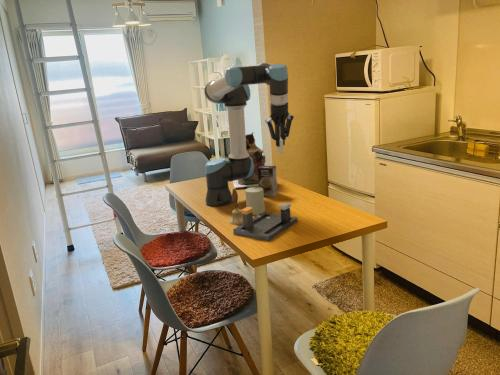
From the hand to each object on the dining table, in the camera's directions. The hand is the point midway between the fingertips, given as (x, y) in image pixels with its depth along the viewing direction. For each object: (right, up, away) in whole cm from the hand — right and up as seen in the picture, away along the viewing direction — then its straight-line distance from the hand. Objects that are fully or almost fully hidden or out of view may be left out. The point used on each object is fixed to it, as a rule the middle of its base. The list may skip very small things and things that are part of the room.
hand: (280, 151), depth 181 cm
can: (-11, -28, +19) cm, 36 cm away
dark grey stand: (-7, -34, -3) cm, 35 cm away
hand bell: (-20, -32, +8) cm, 39 cm away
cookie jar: (-12, -13, +73) cm, 75 cm away
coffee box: (-3, -20, +46) cm, 50 cm away
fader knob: (-14, -34, -5) cm, 37 cm away
